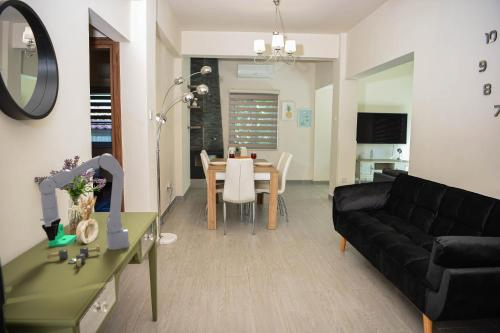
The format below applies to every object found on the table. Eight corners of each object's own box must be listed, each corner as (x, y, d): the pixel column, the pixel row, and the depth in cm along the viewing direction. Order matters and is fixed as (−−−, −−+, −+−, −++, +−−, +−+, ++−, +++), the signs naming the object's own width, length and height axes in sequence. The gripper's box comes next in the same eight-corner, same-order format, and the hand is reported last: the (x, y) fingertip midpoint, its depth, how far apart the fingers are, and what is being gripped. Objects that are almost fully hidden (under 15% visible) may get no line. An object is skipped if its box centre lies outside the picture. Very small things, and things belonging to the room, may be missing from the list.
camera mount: (65, 248, 158) (63, 227, 157) (49, 249, 158) (47, 228, 156) (77, 239, 170) (76, 220, 169) (62, 240, 170) (60, 220, 168)
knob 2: (77, 262, 138) (76, 254, 138) (85, 261, 139) (85, 253, 139) (74, 270, 131) (73, 261, 130) (83, 268, 132) (82, 260, 131)
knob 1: (68, 256, 145) (67, 248, 144) (67, 259, 142) (66, 251, 141) (47, 259, 142) (47, 251, 141) (46, 262, 139) (45, 254, 138)
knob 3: (80, 258, 143) (79, 250, 142) (81, 255, 146) (80, 247, 145) (100, 255, 145) (99, 247, 145) (100, 252, 148) (99, 244, 148)
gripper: (43, 204, 148) (46, 234, 150) (34, 212, 134) (38, 245, 136) (61, 202, 150) (64, 232, 152) (54, 210, 137) (58, 242, 139)
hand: (53, 238), depth 144 cm, fingers open, 5 cm apart
